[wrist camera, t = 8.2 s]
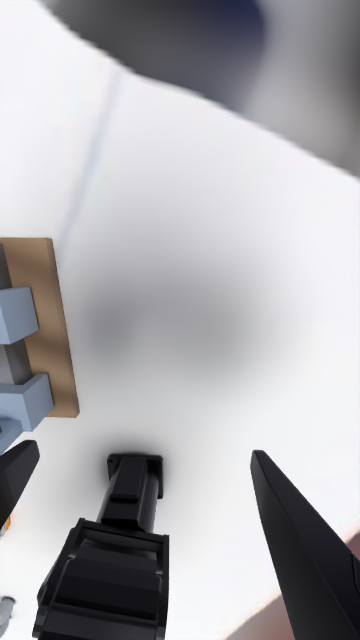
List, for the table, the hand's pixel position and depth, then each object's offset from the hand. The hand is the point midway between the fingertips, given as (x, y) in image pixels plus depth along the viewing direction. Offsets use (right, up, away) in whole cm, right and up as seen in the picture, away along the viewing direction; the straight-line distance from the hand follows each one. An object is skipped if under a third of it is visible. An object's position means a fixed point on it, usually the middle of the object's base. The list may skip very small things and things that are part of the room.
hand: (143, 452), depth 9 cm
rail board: (-14, +4, +12) cm, 19 cm away
